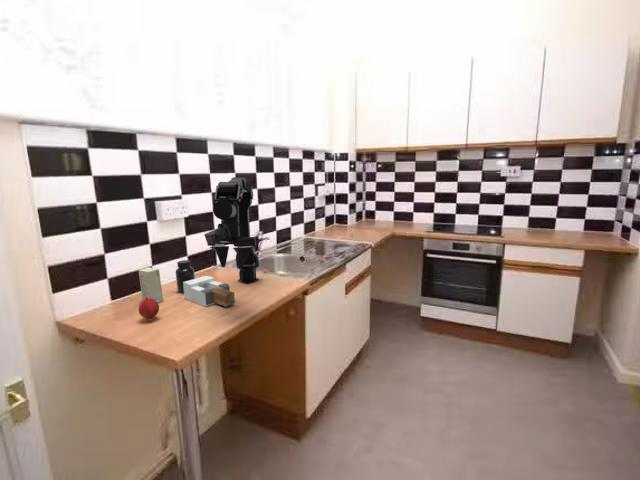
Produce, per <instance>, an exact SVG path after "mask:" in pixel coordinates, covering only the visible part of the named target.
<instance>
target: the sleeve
mask: <svg viewBox="0 0 640 480" xmlns="http://www.w3.org/2000/svg"><path fill="white" fill-rule="evenodd" d="M183 287H184V293H183V295H184V297H183V298H184V299H187V300H189V301H191V302H193V303H196V304H199V305H201V306H204V307H209V306H213V305H216V303H214V302H213V294H212V291H211V289H212V288H215V287H219V288H222V289H225V290H228V291H231V290H230V289H231V287H230V284H229V283H226V282H224V283H222V282H219V281H216V280H215V277H213V276H210V275H209V276H208V275H204V276H201V277H200V276H199V277H197V278H196V277H195V279H193V280H189V281H185V282H183Z"/></svg>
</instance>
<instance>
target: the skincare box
mask: <svg viewBox="0 0 640 480" xmlns="http://www.w3.org/2000/svg"><path fill="white" fill-rule="evenodd" d="M160 274H161V273H160V269H159V268H154V267H145V268H142V269H138V277H139V283H140V285H139V286H140V290H141V298H142V301H143V300H144V299H145V298H146V297H147V296H149V297H150V298H152V299H154V300H155V301H156V302H157V303H158V304H159V303H161V302H164V297H163V296H164V295H163V290H162V289H163V288H162V281H161V275H160Z"/></svg>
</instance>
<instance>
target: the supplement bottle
mask: <svg viewBox="0 0 640 480" xmlns="http://www.w3.org/2000/svg"><path fill="white" fill-rule="evenodd" d="M176 263H177V268H176V269H175V280H176V287H177V289H176V290H177V292H178V293H180V294H184V287H183V282H185V281H189V280H193V279H196V277H195V276H196V275H195V268H194V267H192V266H191V265H192V264H191V260H189V259H184V260H179V261H177V262H176Z"/></svg>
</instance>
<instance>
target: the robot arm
mask: <svg viewBox="0 0 640 480" xmlns="http://www.w3.org/2000/svg"><path fill="white" fill-rule="evenodd" d="M246 180H247V179H246V177H244V176H238V177H237V176H233V177H231V178H230V180H229V181H218V184H217V185H216V187H215V192H214V199H213V200H214V202H215V203H214V205H213V208H212V211H213V214H214V216H215V217H216V219H219V220H220V223H218V224H217V228H216V229H213V230H211V231H208V232H206V233H204V234H203V236H204V239H205V240H206V243H207V245H206V246H209V248H210V249H212V250H213V251H215V253H216V255H217V258H218V261H219V264H220V266H221V268H226V264H227V260H228V254H229V249H230V246H229V245H233V246H234V247H232V249H233V250H234V251H235V252H236V254H235V264H236V269H239V272H238V273H239V275H238V277H239V279H237V281H238V282H240V283H244V284H251V283H253V282H257V281H259V279H260V278H258V277H257V268H260V261H259V257H258V255H257V253H256V249H255V246H256V245H257V243H256V238H255V237H253V236H251V225H250V212H249V210H250V207H251V206H252V204H253V200H254V191H253V186H252V185H251V184H250V183H248V181H246Z"/></svg>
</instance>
